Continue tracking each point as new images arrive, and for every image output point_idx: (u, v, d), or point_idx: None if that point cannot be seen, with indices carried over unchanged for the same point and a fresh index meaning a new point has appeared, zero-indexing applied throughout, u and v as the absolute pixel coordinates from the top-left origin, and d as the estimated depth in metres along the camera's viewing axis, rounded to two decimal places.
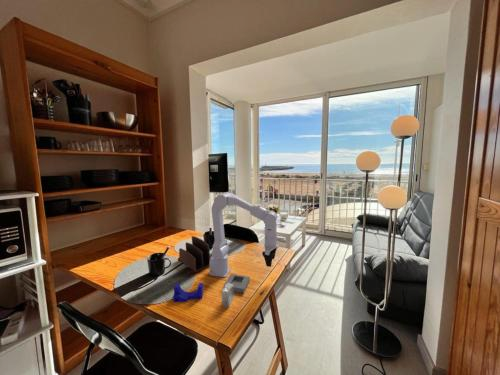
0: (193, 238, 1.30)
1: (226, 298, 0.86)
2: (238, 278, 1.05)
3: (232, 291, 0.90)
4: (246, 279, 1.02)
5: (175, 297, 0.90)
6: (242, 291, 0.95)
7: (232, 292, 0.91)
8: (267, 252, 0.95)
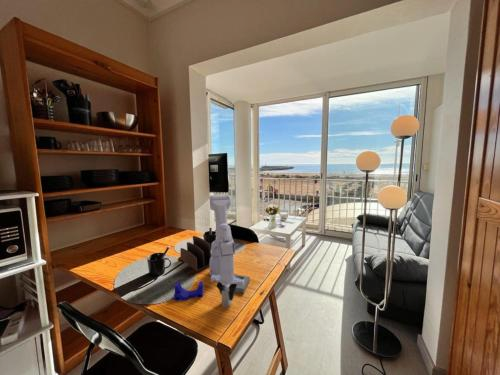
0: (194, 238, 1.30)
1: (226, 298, 0.86)
2: None
3: None
4: (246, 279, 1.02)
5: (176, 296, 0.91)
6: (242, 291, 0.95)
7: None
8: None
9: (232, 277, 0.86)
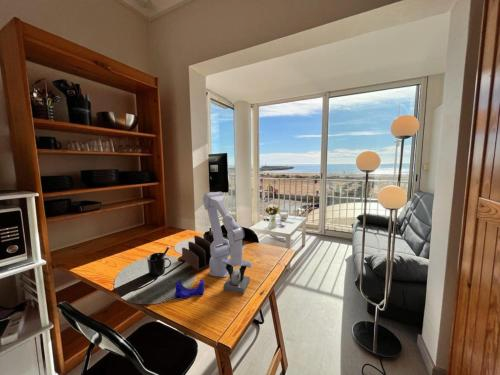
0: (196, 237, 1.31)
1: (235, 280, 0.97)
2: None
3: None
4: (246, 279, 1.02)
5: (177, 294, 0.92)
6: (242, 291, 0.95)
7: None
8: None
9: (241, 260, 0.97)
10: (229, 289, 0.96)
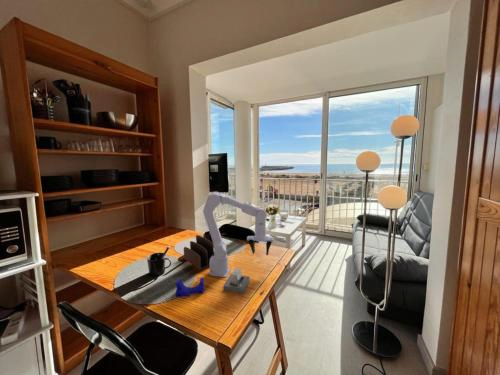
0: (197, 237, 1.32)
1: (235, 280, 0.97)
2: None
3: (240, 275, 1.01)
4: (246, 279, 1.02)
5: (178, 292, 0.93)
6: (242, 291, 0.95)
7: (240, 276, 1.02)
8: None
9: (264, 236, 1.11)
10: (229, 289, 0.96)
